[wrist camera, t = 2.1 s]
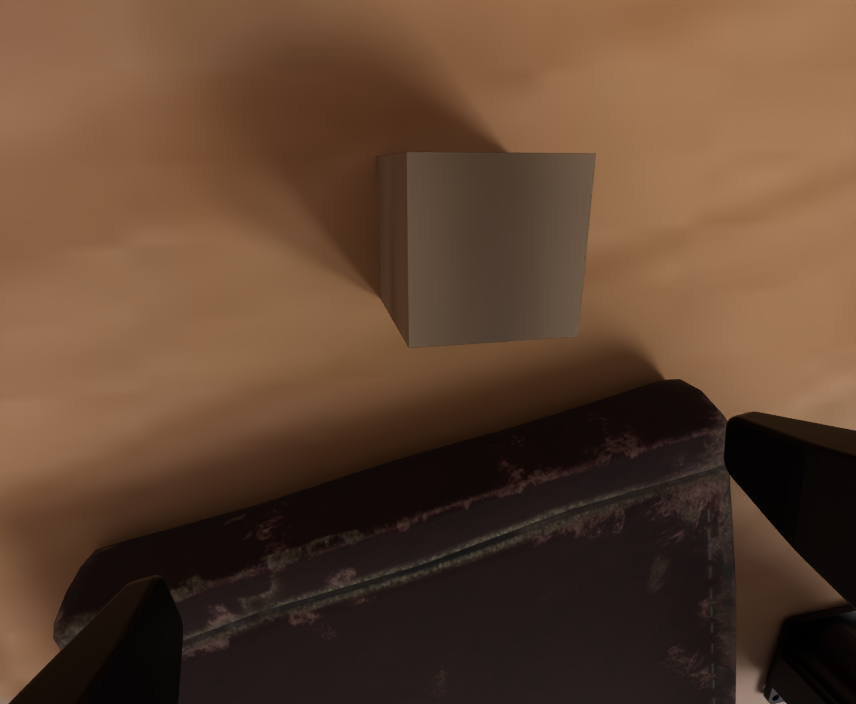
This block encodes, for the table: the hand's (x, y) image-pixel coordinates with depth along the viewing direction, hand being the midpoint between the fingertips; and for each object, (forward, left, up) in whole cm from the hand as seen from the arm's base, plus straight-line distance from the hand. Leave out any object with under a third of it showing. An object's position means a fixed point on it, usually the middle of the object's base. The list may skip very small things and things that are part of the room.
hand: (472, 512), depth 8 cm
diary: (-3, +15, -14) cm, 21 cm away
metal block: (-3, -3, -13) cm, 13 cm away
